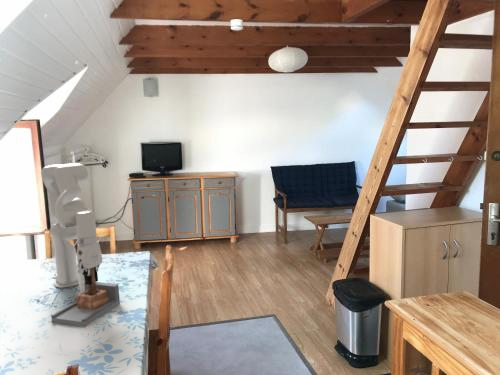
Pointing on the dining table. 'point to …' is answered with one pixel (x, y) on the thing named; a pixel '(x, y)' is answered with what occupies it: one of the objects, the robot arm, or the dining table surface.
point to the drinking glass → (81, 280)
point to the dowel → (93, 286)
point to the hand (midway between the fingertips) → (91, 282)
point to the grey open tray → (85, 315)
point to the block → (92, 298)
